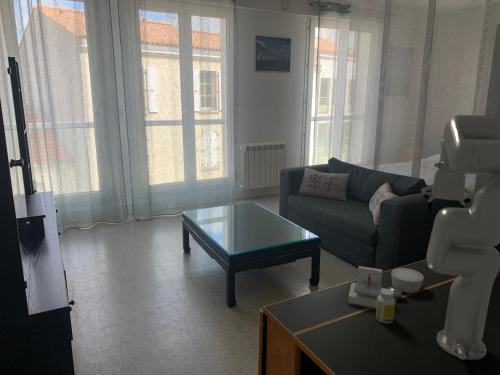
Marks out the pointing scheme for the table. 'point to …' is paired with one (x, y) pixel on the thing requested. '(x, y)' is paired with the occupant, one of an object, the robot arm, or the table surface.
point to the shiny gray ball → (396, 292)
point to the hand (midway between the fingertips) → (444, 213)
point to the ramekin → (407, 279)
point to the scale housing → (368, 277)
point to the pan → (367, 289)
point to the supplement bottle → (385, 306)
